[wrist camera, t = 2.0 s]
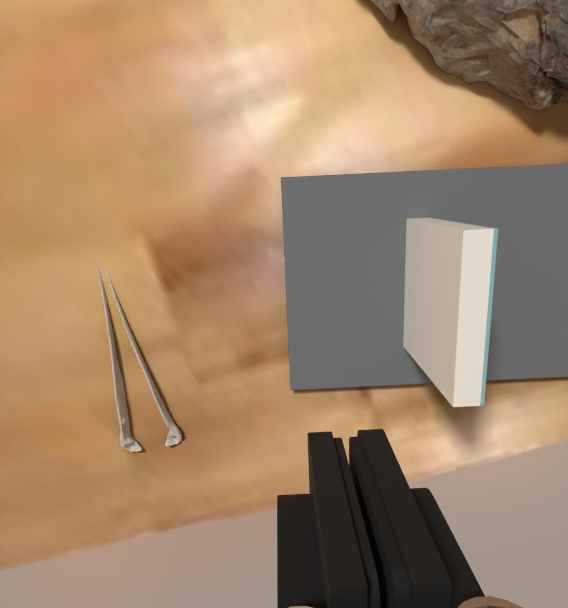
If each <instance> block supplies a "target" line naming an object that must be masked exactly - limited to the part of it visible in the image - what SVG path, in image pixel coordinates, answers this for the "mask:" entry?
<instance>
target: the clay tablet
mask: <svg viewBox="0 0 568 608" xmlns="http://www.w3.org/2000/svg"><path fill="white" fill-rule="evenodd" d="M370 1H371V2H372V3H374V4H375V5H376V6H377V7H378V8H379V9H380V10H381V11H382V13H383V14H384V15H385V16H386V18H387V19H388V20H389V21H390V22H392V21H394V20H395V16H396V12H397V8H398V5H399V3H400V5H401V7H402V9H403V11H404V13H405V14H406V15H407V20H408V25H409V29H410V32H411V35H412V36H413V37H414V38H415V39H416V40H417V41H418V42H419V43H420V44H422V45H423V46H424V47H426V48H427V49H428V50H429V52H430V53H431V54H432V56H433V58H434V62H435V64H436V65H437V66H439V67H440V68H441V69H442V70H443V71H444V72H446V73H447V74H450V75H455V76H459V77H461V78H462V79H463V80H464V81H465V82H466V83H467V84H470V83H473V82H477V81H486V82H487V83H489V84H490V85H492V86H493V87H495V88H496V89H497V90H499V91H500V92H501V93H503V94H504V95H505V96H508V97H511V98H515V99H518V100H522V101H523V104H524V106H526V107H530V108H533V109H537V110H541V109H544V108H547V107H550V106H552V105H555V104H558V103H560V102H563V101H564V93H565V90H566V89H567V88H568V0H370ZM555 78H556V79H557V80H558V83H557V81H556V80H555Z"/></svg>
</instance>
